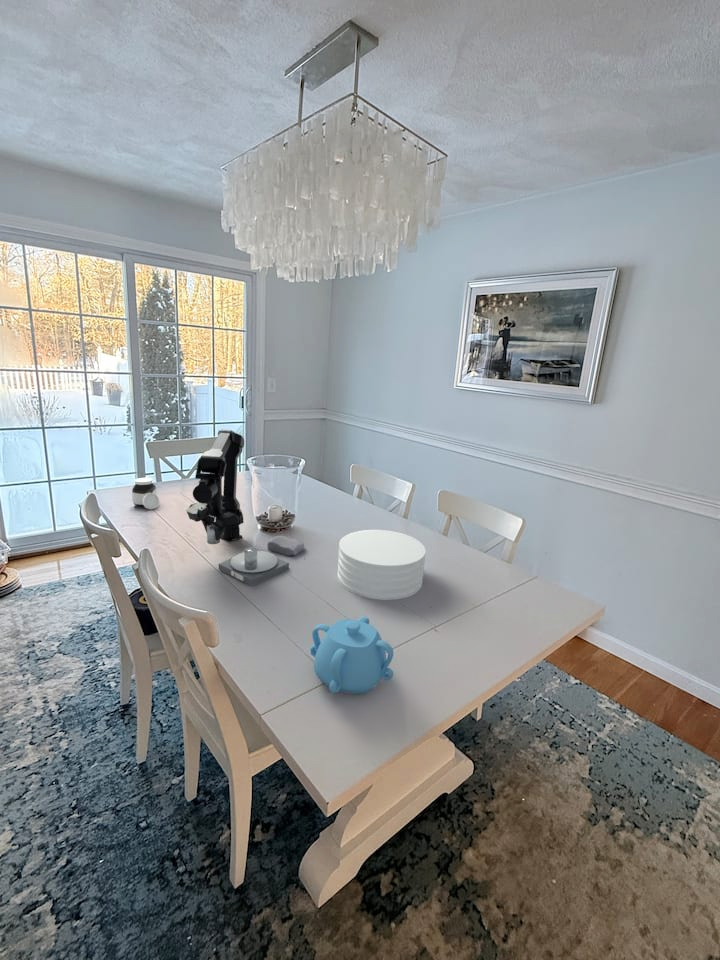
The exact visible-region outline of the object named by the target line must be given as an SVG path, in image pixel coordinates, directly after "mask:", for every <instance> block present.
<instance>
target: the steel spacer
mask: <svg viewBox="0 0 720 960" xmlns="http://www.w3.org/2000/svg"><path fill="white" fill-rule="evenodd" d="M206 539H207V541H206V542H207V544H209V545H217V544H219V543H221V539H220V540H216V537H215V529H214V526H213V525H212V524H211V523H209V524H207V533H206Z"/></svg>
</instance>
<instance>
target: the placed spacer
mask: <svg viewBox="0 0 720 960" xmlns="http://www.w3.org/2000/svg"><path fill="white" fill-rule="evenodd" d="M257 549H258V548H256V547H247V548H244V550H243V552H244V568H245V569H246V570H255V569H257Z"/></svg>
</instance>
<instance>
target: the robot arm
mask: <svg viewBox="0 0 720 960" xmlns="http://www.w3.org/2000/svg"><path fill="white" fill-rule="evenodd" d="M244 447H245V438H244V437H243V435H242V434H240V433H237V432H235V431H234V430H232V429H229V430H228V429H220V430H218V432H217V437H216V439H215V441H214V443H213V445H212V446H211V448H210V449H208V450H207V451H204V452H203V454H201V456H200V457H199V458H198V460H197V466H196V472H195V476H194V477H195V480H196V479H197V480H198V485H196V486H195V487H194V489H193V491H192V497H193V499H194V500H195V501H196V503H192V504H190V505H189V507H188V508H187V509H186V510H185V511H186V514H187V515H188V518H189V520H192V521H194V522H195V523H196V522H201V523H202V525H203V528H204V530H205V532H206V534H207V524H209V523H211V524H212V525H213V526H214V529H215V537H216V540H220V541H221V539H222V540H224V541H226V542H228V543H229V542H233V541H235V540H238V539H242V538H243V535H242V534H241V532H240V525H242V524H244V514H243V511H242V509H241V504H240V502H239V500H238V499H237V481H238V478H237V477H238V459H239V458H240V456H241V454H242V453H243V448H244ZM222 479H223V481H222ZM222 483H223V485H222ZM222 487H223V489H222Z"/></svg>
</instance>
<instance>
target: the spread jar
mask: <svg viewBox="0 0 720 960" xmlns="http://www.w3.org/2000/svg"><path fill="white" fill-rule="evenodd" d="M134 483H135V484H134V486H133V487H132V490H131V497H132V503H133V504H134V506H136V507H138V508H146V509H147V510H154V509H156V508H158V506H159V504H160V499H159V497H158V495H157V493H158V492H157V487H156V485H155V483H154V482H153V478H150V477H140V478H136V479H135V480H134Z"/></svg>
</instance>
